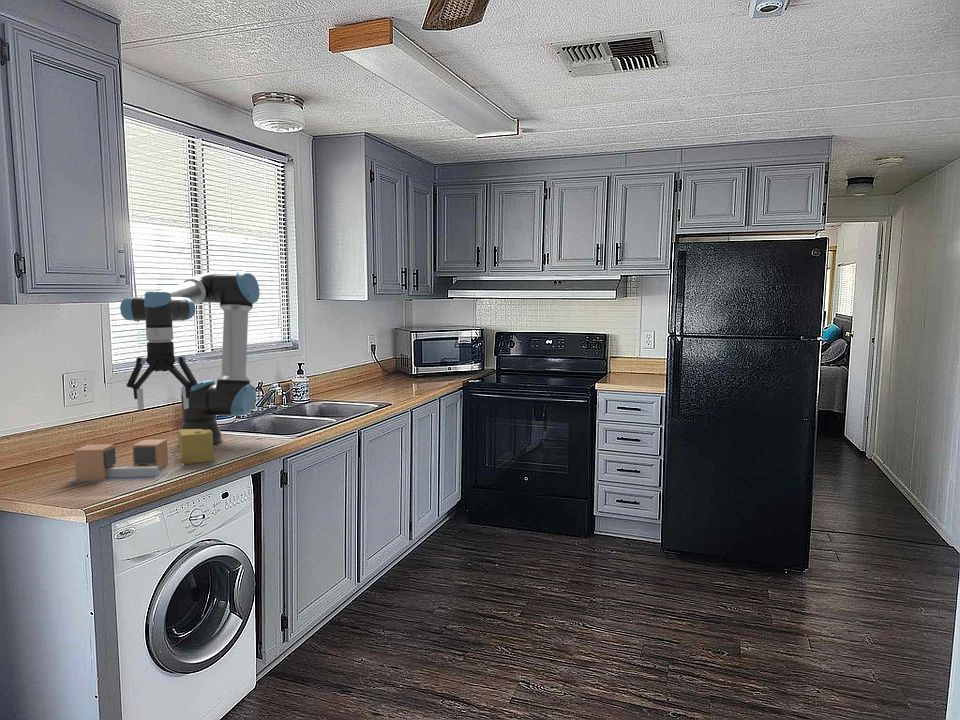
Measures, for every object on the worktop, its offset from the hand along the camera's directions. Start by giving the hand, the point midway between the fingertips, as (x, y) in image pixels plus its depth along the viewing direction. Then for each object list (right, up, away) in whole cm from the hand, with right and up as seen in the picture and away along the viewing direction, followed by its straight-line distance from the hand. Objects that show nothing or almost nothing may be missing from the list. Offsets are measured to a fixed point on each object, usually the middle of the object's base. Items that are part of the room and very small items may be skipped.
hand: (163, 409), depth 212 cm
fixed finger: (-17, -20, -7) cm, 27 cm away
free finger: (-6, -20, +5) cm, 21 cm away
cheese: (+3, -19, +18) cm, 26 cm away
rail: (-11, -21, -6) cm, 24 cm away
